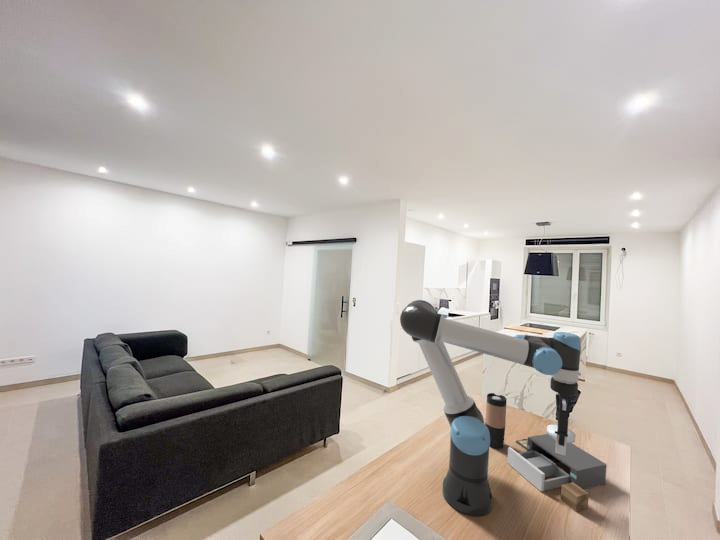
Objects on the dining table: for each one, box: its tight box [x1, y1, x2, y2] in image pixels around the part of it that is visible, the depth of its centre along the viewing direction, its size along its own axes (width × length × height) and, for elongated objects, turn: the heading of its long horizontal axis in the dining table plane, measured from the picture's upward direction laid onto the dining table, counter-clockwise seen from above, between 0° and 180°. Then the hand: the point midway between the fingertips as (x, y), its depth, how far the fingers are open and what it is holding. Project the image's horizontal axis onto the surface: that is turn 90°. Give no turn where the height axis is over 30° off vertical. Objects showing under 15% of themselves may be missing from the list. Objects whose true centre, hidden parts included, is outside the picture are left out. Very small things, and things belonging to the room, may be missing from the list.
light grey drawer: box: [506, 446, 570, 492], centre depth 109 cm, size 13×15×6 cm
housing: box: [526, 433, 607, 490], centre depth 113 cm, size 15×20×7 cm
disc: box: [546, 424, 577, 444], centre depth 100 cm, size 8×8×2 cm
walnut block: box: [560, 482, 590, 513], centre depth 95 cm, size 5×5×5 cm
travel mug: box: [484, 392, 507, 450], centre depth 126 cm, size 8×8×20 cm
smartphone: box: [515, 438, 562, 464], centre depth 122 cm, size 8×15×1 cm, turn 18°
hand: (559, 446), depth 100 cm, fingers closed on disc, 8 cm apart
